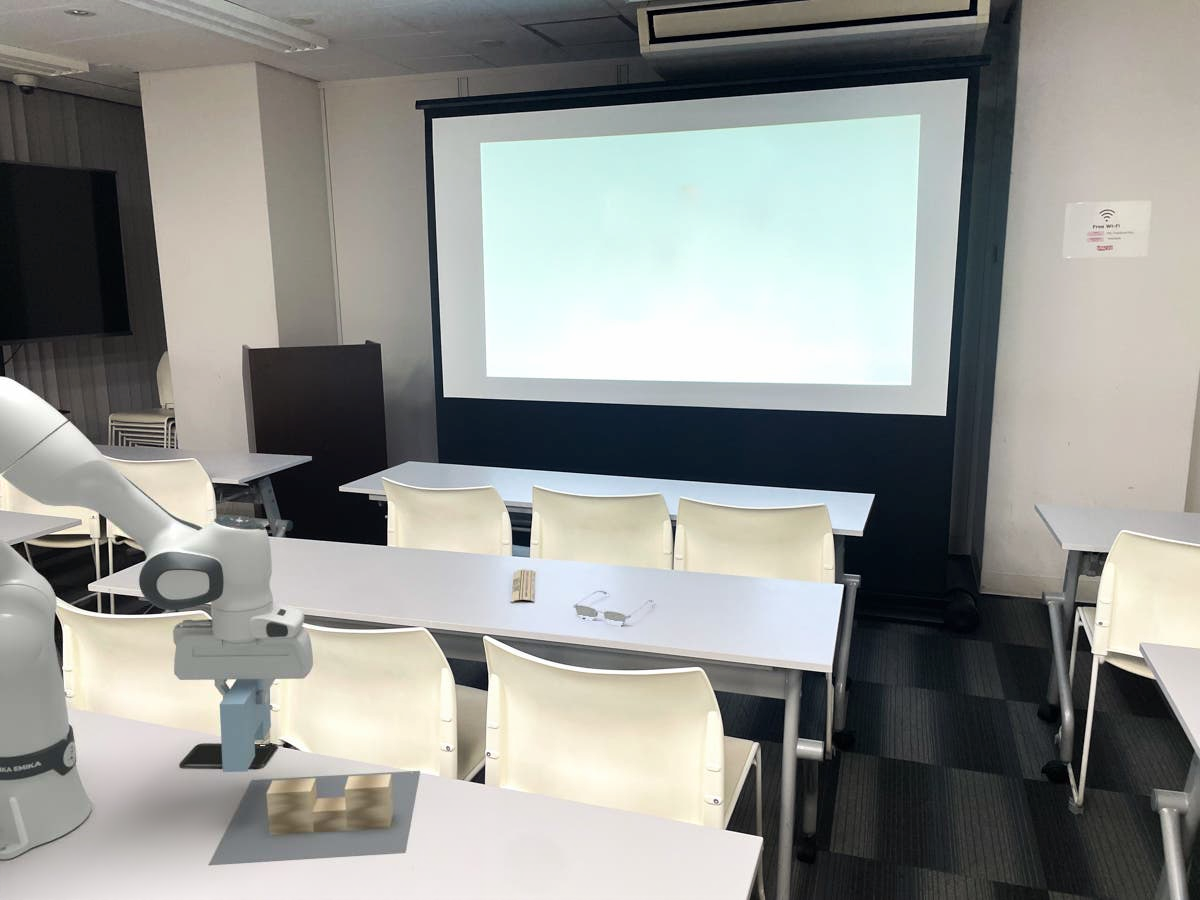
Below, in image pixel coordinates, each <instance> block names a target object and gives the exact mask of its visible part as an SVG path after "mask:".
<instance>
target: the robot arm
mask: <svg viewBox="0 0 1200 900" xmlns="http://www.w3.org/2000/svg"><path fill="white" fill-rule="evenodd" d="M0 475H1V477H2V478H3V479H5V481H7V482H8V483H9V484H10V485H12V486H13V487H14V488H15V489H17V490H18V491H20V492H21V493H23V494H24V495H26V496H27V497H29V498H31V499H33V500H35V501H36V502H38V503H40V504H42V505H45V506H51V507H52V506H53V507H65V506H66V507H68V506H69V507H70V506H71V507H81V508H85V509H89V510H90V511H94V512H95V513H98V514H100V515H101V516H103V517H104V518H105V519H107V520H108V521H109V522H110V523H112V524H113V525H114V526H115V527H117V528H118V529H119V530H120V531H121V532H123V533H124V534H126V535H127V536H128V537H129V538H130V539H132V540H133V541H135V543H136V544H138V545H139V546H140V547H141V548H142V550H143V552H144V554H145V556H146V558H145V561H144V563H143V565H142V567H141V570H140V571H139V572H140V573H139V577H138V583H139V584H138V585H139V588H140V592H141V594H142V595H143V596H144V598H145V600H147V602H149V603H150V604H151V605H153V606H155V607H157V608H159V609H162V610H168V611H178V610H184V609H189V608H193V607H197V606H201V605H205V604H209V603H210V609H211V610H210V611H211V614H210V615H211V619H183V620H182V622H179V623H177V624H176V625H175V626H174V628H173V631H172V636H173V638H172V639H173V643H174V645H175V654H174V663H173V665H174V666H173V673H174V675H175V676H176V678H178V680H180V681H190V680H191V681H200V680H201V681H203V680H204V681H206V680H207V681H209V680H213V681H214V687H215V688H216V690H217V691H218V692H219V693H220V695H221V696H222V700H223V699H224V697H225V696H226V694H227V693H228V691H229V690H230V688H231V687H229V685H228V683H227V681H229V680H237V679H262V680H263V685H266V684H267V685H266V687H265V689H264V690H258V693H257V694H256V700H257V701H256V704H267V702H268V691H269V689H270V690H271V687H272V685H273V683H274V682H275V681H276V680H280V679H281V680H290V679H293V680H294V679H295V680H297V679H299V680H300V679H301V680H304V679H305V678H306V677H308V675H309V674H310V673H311V671H312V669H313V665H314V655H313V647H312V641H311V637H310V633H309V631H308V630H307V629H306V628H305V627H304V626H303V625H304V622H305V613H304V611H302V610H300V609H297V608H294V607H290V606H287V605H283V604H281V603H277V602H275V601H273V600H274V598H273V593H272V591H271V587H270V585H271V584H270V582H271V577H272V574H273V567H272V566H273V564H272V552H271V543H270V542H271V541H270V538H269V534H268V531H267V529H266V527H265V526H264V525H263V524H262V523H261V522H260V521H258V520H256V519H253V518H251V517H247V516H243V515H223V516H222V515H221V516H218V517H216V518H214V519H213V520H212V521H211V522H210V523H208V524H207V525H205V526H200V525H198V524H195V523H192V522H189V521H186V520H183V519H181V518H179V517H176V516H175V515H173V514H171V512H169V511H168V510H166V509H165V508H163V506H162V505H160V504H159V503H158V502H156V501H155V500H154V499H153V498H152V497H150V496H149V495H148V494H147V493H146V492H144V491H143V490H142V489H141V488H140V487H138V486H137V485H136V484H135V483H133V481H131V480H130V479H128V477H126V476H124V474H123V473H121V472H120V471H119V470H118V469H117V468H116V466H114V465H113V464H112V463H111V462H110V461H109V460H108V459H107V458H106V457H105V456H104V455H103V454H102V452H101V451H100V450H99V449H98V448H97V447H96V446H95V444H93V443H92V441H90V439H88V438H87V436H86V435H84V433H82V431H81V430H79V429H78V428H77V426H75V425H74V424H73V422H71V421H69V419H68V418H66V417H65V415H63V414H62V413H61V412H59V410H57V409H56V407H55V408H54V406H52V405H51V404H50V403H49V402H47V401H45V399H43V398H42V397H40V396H39V394H38V395H37V394H36V393H35V392H33V391H32V390H30V389H29V388H28V387H26V386H24V385H22V384H20V382H18V381H16V380H14V379H12V378H9V377H6V376H0ZM54 591H55V590H54V589H53V587H52V585H51V584H50V582H49V581H48V580H47V579H46V577H45V576H43V575H42V574H41V573H39V572H38V571H37V570H36V569H35V568H34V567H33V566H32V565H31V564H30V563H29V562H28V561H27V560H26V559H25V558H24V557H23V556H22V555H21V554H20V553H19V552H18V551H16V550H15V548H13V547H12V546H11V545H10V544H9V543H8V542H7V541H6V540H5V539H3V537H2V536H1V535H0V860H10V859H12V858H15V857H17V856H20V855H21V854H24V853H25V852H27V851H29V850H30V849H33V848H35V847H37V846H40V845H43V844H46V843H48V842H51V841H54V840H56V839H58V838H60V837H62V836H64V835H66V834H68V833H70V832H71V831H73V830H74V829H76V828H77V827H78V826H80V825H81V824H82V823H83V822H84V821H86V819H87V818H88V817H89V816H90V813H91V811H92V808H93V804H92V802H91V800H90V798H89V797H88V795H87V793H86V791H85V787H84V785H83V783H82V780H81V778H80V774H79V773H80V772H79V770H78V767H77V749H76V741H75V735H74V728H73V727H72V725H71V724H70V723H69V716H68V715H69V714H68V707H67V699H66V698H67V697H66V692H65V683H64V679H63V676H62V673H61V667H60V663H59V659H58V658H59V657H58V653H57V648H56V642H55V617H56V610H57V603H58V602H57V598H56V597H57V596H56V594H55V592H54Z"/></svg>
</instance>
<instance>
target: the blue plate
mask: <svg viewBox="0 0 1200 900" xmlns="http://www.w3.org/2000/svg"><path fill="white" fill-rule="evenodd" d="M266 685H267V684H266ZM266 685H263V680H262V679H235V681H234V682H233V684H232V686H230V687H229V688H230V690H229V691H228V693H227V694H226V696H225V697H224V699H223V698H222V700H221V701H220V703H219V714H220V715H219V716H220V717H219V718H220V720H219V721H220V722H219V723H220V738H221V740H220V741H221V744H222V765H223V769H222V772H223V773H245V772H248V770H250V769H249V767H250V765H251V763H252V761H253V759H254V757H255V744H256V742H255V741H265V738H266V737H267V734H268V733H269V731H270V729H271V727H272V723H271V721H272V720H271V717H272V716H271V715H272V714H271V694H270V693H271V692H270V690H271V688H270V689H269V691H268V702H267V704H256V701H257V700H256V694H257V693H258V690H264V689H265V687H266Z"/></svg>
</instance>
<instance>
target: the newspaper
mask: <svg viewBox="0 0 1200 900" xmlns="http://www.w3.org/2000/svg"><path fill="white" fill-rule="evenodd" d="M512 579H513V580H512V589H511V599H510V603H511V604H514V603H513V602H516V601H521V600H522V601H524V600H525V601H531V603H532V602H533V603H534V602H535V589H534V582H535V583H536V571H535V570H531V569H518V570H516V571H514V572H513V578H512Z"/></svg>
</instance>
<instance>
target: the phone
mask: <svg viewBox="0 0 1200 900" xmlns="http://www.w3.org/2000/svg"><path fill="white" fill-rule="evenodd" d="M260 745H265V746H260ZM278 746H279V745H278V744H276V743H255V757H254V759H253V761H252V763H251V765H250V767H249V769H248V770H261V769H264V768H265V767H266V766H267V764H268V763H269V762H270V761H271V759H272V758H273V756H274V755H275V753H276V752H277V751H278V748H279V747H278ZM178 765H179V768H180V769H183V770H184V769H185V770H186V769H189V770H190V769H194V770H195V769H196V770H197V769H198V770H223V765H222V744H221V743H219V742H218V743H217V742H214V743H213V742H211V743H210V742H208V743H207V742H206V743H204V742H203V743H197V744H196V745H195V746H194V747H193V748H192V749H191V750H190V751H189V753H187V755H186V756H185V757H184V758H183V759H182V760H181V761H179V764H178Z"/></svg>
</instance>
